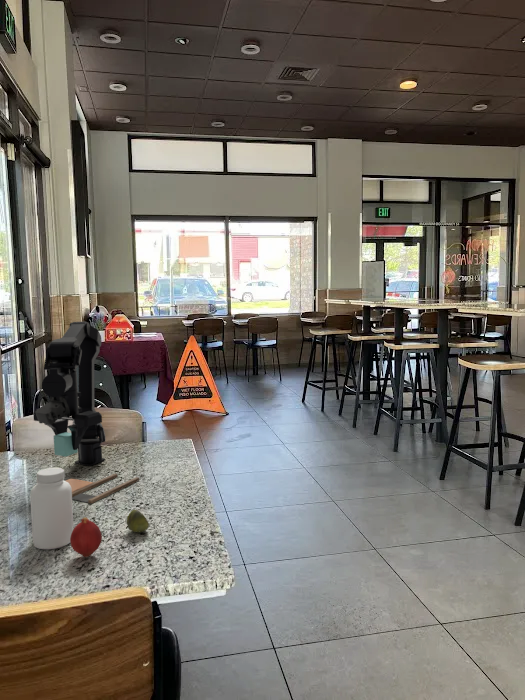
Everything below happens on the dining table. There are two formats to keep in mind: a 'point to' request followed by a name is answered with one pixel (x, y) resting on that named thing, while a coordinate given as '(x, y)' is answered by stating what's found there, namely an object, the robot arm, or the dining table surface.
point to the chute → (87, 498)
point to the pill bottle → (51, 509)
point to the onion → (86, 537)
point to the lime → (137, 521)
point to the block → (63, 444)
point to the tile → (77, 484)
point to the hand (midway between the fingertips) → (69, 448)
